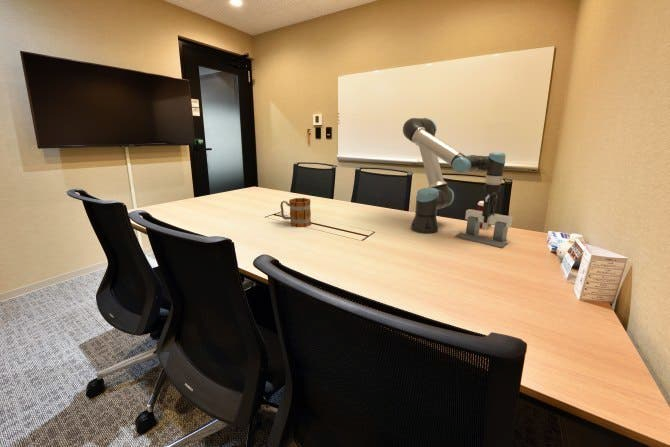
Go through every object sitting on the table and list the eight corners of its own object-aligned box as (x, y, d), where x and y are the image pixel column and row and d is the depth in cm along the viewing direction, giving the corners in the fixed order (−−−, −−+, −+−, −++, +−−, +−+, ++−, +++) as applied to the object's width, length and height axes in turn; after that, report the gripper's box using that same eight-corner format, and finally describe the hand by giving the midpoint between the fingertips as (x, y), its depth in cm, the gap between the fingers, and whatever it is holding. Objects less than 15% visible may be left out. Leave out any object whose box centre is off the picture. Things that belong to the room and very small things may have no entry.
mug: (314, 222, 195) (314, 198, 190) (307, 228, 182) (306, 203, 178) (286, 219, 200) (285, 196, 196) (276, 225, 188) (275, 201, 183)
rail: (465, 219, 171) (466, 210, 169) (468, 217, 174) (469, 209, 172) (508, 227, 156) (510, 218, 154) (511, 226, 159) (512, 216, 157)
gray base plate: (454, 236, 167) (454, 235, 167) (460, 233, 173) (460, 232, 173) (501, 248, 151) (502, 247, 151) (507, 244, 157) (507, 243, 156)
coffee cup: (491, 229, 179) (495, 204, 175) (476, 228, 181) (479, 203, 176) (487, 225, 187) (491, 200, 183) (473, 224, 189) (476, 200, 184)
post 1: (465, 234, 171) (467, 217, 168) (470, 231, 176) (473, 214, 173) (473, 236, 168) (476, 218, 165) (478, 233, 173) (481, 216, 170)
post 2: (492, 240, 161) (495, 222, 158) (497, 237, 166) (499, 219, 163) (501, 242, 158) (504, 224, 156) (506, 239, 163) (509, 221, 160)
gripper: (494, 186, 150) (487, 232, 157) (506, 182, 162) (499, 225, 169) (479, 184, 155) (472, 229, 162) (491, 180, 167) (485, 222, 174)
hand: (486, 227), depth 165 cm, fingers closed on rail, 4 cm apart
